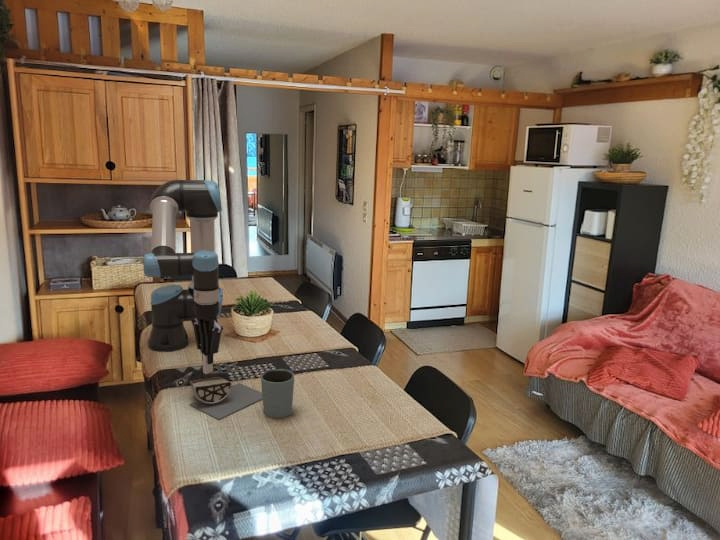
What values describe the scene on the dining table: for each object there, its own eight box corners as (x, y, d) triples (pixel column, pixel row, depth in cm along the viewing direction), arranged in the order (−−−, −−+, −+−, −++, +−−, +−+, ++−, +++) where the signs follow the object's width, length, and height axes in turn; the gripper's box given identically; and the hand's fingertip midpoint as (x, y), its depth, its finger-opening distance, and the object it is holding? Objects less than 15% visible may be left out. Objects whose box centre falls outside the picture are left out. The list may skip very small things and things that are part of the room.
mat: (189, 405, 165) (189, 404, 165) (239, 383, 181) (239, 382, 181) (218, 420, 157) (218, 419, 157) (268, 396, 173) (268, 395, 173)
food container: (185, 401, 170) (194, 408, 161) (185, 381, 169) (193, 388, 161) (224, 394, 176) (234, 401, 168) (223, 376, 176) (233, 382, 167)
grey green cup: (279, 423, 157) (279, 385, 155) (253, 413, 163) (253, 376, 160) (300, 409, 166) (301, 373, 163) (275, 400, 171) (275, 365, 168)
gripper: (183, 299, 167) (185, 370, 173) (210, 308, 160) (211, 381, 165) (203, 295, 173) (204, 363, 179) (229, 303, 166) (230, 374, 171)
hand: (208, 372), depth 172 cm, fingers closed
